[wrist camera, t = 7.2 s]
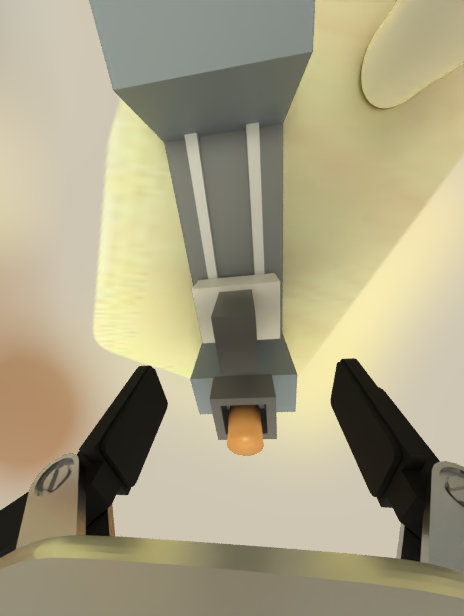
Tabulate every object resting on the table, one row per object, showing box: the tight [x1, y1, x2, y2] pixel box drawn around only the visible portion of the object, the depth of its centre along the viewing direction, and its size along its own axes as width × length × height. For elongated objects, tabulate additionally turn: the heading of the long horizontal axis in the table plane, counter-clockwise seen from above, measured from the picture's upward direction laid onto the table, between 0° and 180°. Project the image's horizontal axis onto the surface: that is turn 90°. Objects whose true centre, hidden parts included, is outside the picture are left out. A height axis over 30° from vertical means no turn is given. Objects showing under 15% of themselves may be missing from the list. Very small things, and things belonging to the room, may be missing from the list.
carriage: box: [192, 273, 280, 374], centre depth 17 cm, size 6×8×8 cm
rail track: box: [89, 0, 315, 440], centre depth 16 cm, size 30×10×12 cm, turn 6°
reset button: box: [227, 405, 264, 456], centre depth 16 cm, size 3×3×3 cm
